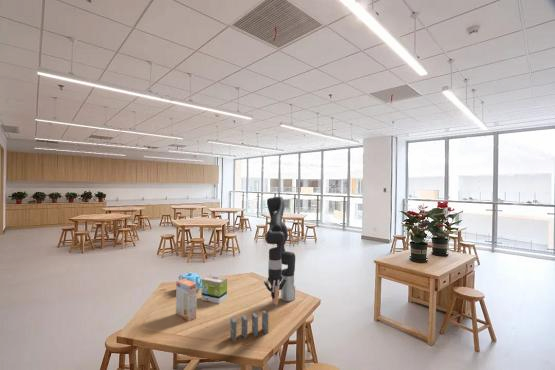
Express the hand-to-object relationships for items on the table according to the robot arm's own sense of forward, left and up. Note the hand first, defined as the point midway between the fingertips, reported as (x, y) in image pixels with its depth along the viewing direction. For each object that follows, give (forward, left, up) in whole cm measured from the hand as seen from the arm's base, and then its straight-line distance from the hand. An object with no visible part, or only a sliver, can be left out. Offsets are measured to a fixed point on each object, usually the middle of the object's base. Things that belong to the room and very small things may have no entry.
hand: (274, 297), depth 151 cm
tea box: (+22, -52, -17) cm, 59 cm away
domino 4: (+6, +1, -17) cm, 18 cm away
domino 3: (+12, +1, -17) cm, 21 cm away
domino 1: (+24, +1, -17) cm, 30 cm away
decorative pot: (+35, -76, -17) cm, 86 cm away
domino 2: (+18, +1, -17) cm, 25 cm away
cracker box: (+43, -35, -17) cm, 58 cm away
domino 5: (0, 0, -3) cm, 3 cm away
